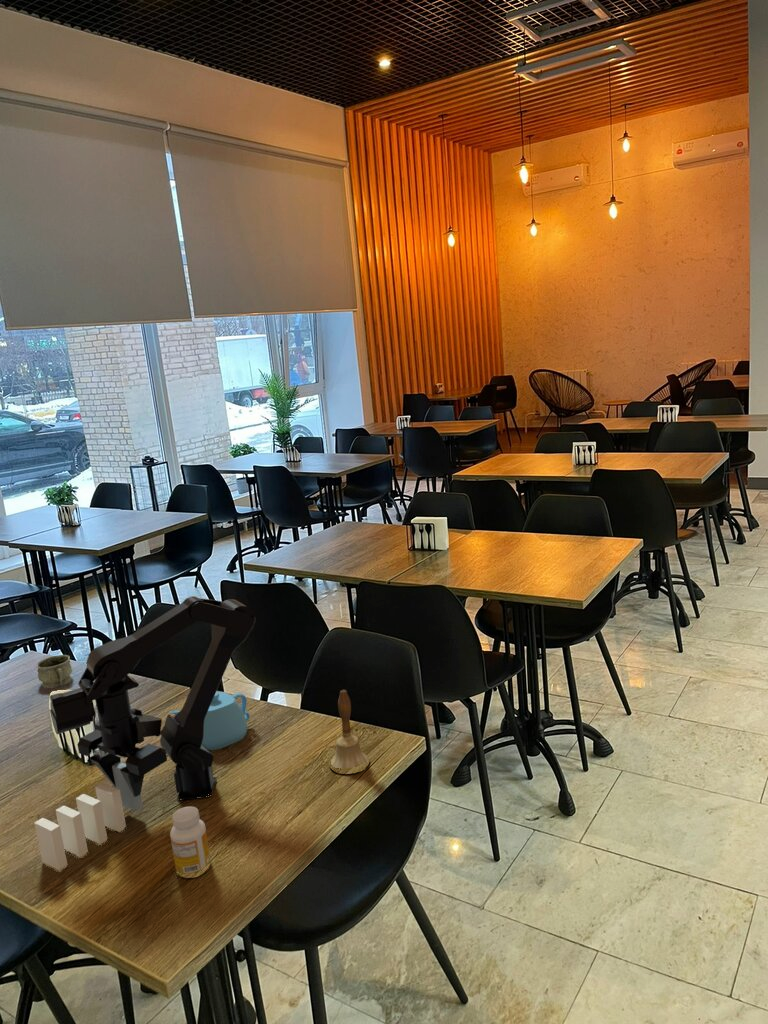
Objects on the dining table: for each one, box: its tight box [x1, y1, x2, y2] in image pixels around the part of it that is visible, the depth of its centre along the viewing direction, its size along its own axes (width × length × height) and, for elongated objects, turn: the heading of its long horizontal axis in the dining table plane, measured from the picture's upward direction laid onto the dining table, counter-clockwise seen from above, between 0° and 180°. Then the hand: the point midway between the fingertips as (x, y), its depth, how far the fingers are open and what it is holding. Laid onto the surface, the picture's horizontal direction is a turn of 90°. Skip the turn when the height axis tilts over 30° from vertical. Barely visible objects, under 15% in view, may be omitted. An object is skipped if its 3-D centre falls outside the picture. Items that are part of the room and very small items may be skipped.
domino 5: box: [112, 761, 144, 812], centre depth 143 cm, size 2×5×8 cm, turn 56°
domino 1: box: [33, 817, 68, 870], centre depth 130 cm, size 2×5×8 cm, turn 56°
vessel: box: [35, 654, 73, 689], centre depth 210 cm, size 12×9×6 cm
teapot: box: [169, 691, 250, 751], centre depth 169 cm, size 13×11×18 cm
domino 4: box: [94, 782, 127, 831], centre depth 140 cm, size 2×5×8 cm, turn 56°
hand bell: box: [330, 689, 368, 769], centre depth 154 cm, size 8×8×16 cm
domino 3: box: [75, 793, 108, 844], centre depth 137 cm, size 2×5×8 cm, turn 56°
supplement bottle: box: [169, 806, 211, 874], centre depth 126 cm, size 6×6×10 cm
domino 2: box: [55, 805, 89, 857], centre depth 134 cm, size 2×5×8 cm, turn 56°
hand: (128, 791), depth 143 cm, fingers closed on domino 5, 5 cm apart
